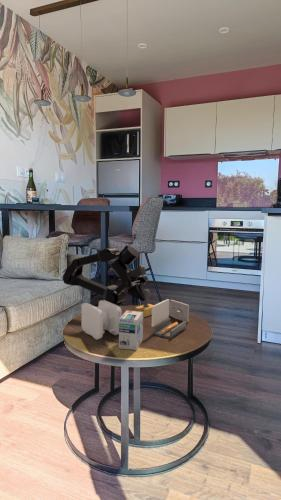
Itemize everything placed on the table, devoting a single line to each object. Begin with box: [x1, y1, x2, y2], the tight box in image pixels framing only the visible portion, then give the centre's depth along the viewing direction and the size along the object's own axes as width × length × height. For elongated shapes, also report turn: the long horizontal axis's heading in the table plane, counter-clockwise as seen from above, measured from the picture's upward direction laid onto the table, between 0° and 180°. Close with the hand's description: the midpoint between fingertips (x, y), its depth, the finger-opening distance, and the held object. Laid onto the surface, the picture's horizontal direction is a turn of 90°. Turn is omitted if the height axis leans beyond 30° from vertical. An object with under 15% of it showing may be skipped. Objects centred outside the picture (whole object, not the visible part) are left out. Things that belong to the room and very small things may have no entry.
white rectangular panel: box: [150, 298, 170, 327], centre depth 134 cm, size 8×14×1 cm
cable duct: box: [152, 317, 187, 340], centre depth 133 cm, size 8×14×3 cm, turn 150°
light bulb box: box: [118, 310, 144, 351], centre depth 118 cm, size 11×7×11 cm, turn 168°
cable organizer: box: [81, 299, 123, 341], centre depth 128 cm, size 15×11×12 cm
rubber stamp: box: [134, 288, 155, 318], centre depth 155 cm, size 10×6×12 cm, turn 139°
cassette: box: [169, 299, 190, 323], centre depth 150 cm, size 12×2×8 cm, turn 37°
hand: (144, 300), depth 138 cm, fingers closed
